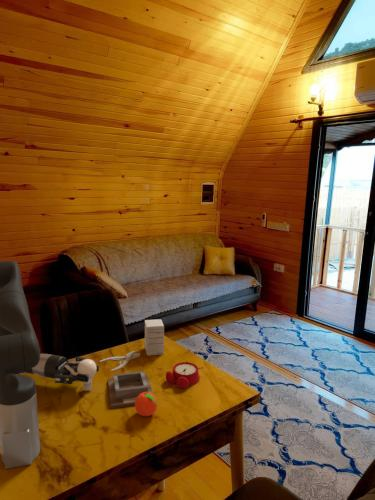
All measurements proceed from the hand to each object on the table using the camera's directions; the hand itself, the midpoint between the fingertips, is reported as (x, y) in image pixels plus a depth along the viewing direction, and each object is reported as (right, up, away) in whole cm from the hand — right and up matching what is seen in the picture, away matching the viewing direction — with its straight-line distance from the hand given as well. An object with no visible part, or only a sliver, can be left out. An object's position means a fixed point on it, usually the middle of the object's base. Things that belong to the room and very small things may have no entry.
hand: (93, 373), depth 124 cm
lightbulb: (-2, -6, +2) cm, 7 cm away
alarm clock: (+30, -6, +9) cm, 32 cm away
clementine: (+19, -10, -10) cm, 24 cm away
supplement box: (+18, -1, +31) cm, 35 cm away
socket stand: (+12, -7, +2) cm, 14 cm away
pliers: (+6, -3, +23) cm, 24 cm away
